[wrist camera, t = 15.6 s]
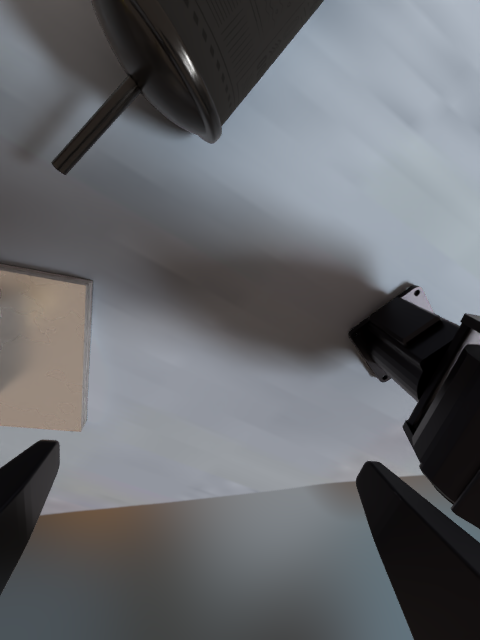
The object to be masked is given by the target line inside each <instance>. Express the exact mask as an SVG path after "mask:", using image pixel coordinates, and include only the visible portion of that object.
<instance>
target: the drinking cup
mask: <svg viewBox="0 0 480 640" xmlns="http://www.w3.org/2000/svg"><path fill="white" fill-rule="evenodd" d="M323 1H324V0H91V2H92V5H93V8H94V11H95V13H96V16H97V18H98V20H99V23H100V25H101V27H102V30H103V32H104V34H105V36H106V38H107V40H108V42H109V44H110V46H111V48H112V50H113V51H114V53H115V55H116V57H117V59H118V61H119V62H120V64H121V66H122V67H123V69H124V70H125V72H126V73H127V75H128V77H127V78H126V79H125V80H124V81H123V82H122V83H121V84H120V86H119V87H118V88H117V89H116V90H115V91H114V92H113V93H112V95H111V96H110V97H109V98H108V99H107V100H106V101H105V103H104V104H103V105H102V106H101V107H100V108H99V109H98V110H97V112H96V113H95V114H94V115H93V116H92V117H91V118H90V119H89V121H88V122H87V123H86V124H85V125H84V126H83V127H82V128H81V130H80V131H79V132H78V133H77V134H76V135H75V136H74V137H73V139H72V140H71V141H70V142H69V143H68V144H67V145H66V146H65V148H64V149H63V150H62V151H61V152H60V153H59V154H58V155H57V157H56V158H55V159H54V160H53V161H52V162H51V163H52V165H53V166H54V167H55V168H56V169H57V170H58V171H60V172H61V173H62V174H64V175H66V174H67V173H68V172H69V171H70V170H71V169H72V168H73V166H74V165H75V164H76V163H77V162H78V161H79V160H80V159H81V158H82V157H83V155H84V154H85V153H86V152H87V151H88V150H89V149H90V148H91V147H92V146H93V144H94V143H95V142H96V141H97V140H98V139H99V138H100V137H101V136H102V134H103V133H104V132H105V131H106V130H107V129H108V128H109V127H110V126H111V125H112V123H113V122H114V121H115V120H116V119H117V118H118V117H119V116H120V115H121V114H122V112H123V111H124V110H125V109H126V108H127V107H128V106H129V105H130V104H131V102H132V101H133V100H134V99H135V98H136V97H137V96H138V95H139V94H140V93H142V95H143V96H144V97H145V98H146V99H147V100H148V101H149V102H150V103H151V104H152V105H153V106H154V107H155V108H156V109H157V110H158V111H159V112H160V113H162V114H163V115H164V116H165V117H166V118H168V119H169V120H170V121H171V122H173V123H174V124H176V125H177V126H179V127H181V128H182V129H184V130H186V131H188V132H191V133H193V134H196V135H198V136H199V137H200V138H202V139H203V140H204V141H206V142H208V143H210V144H213V143H215V142H216V141H217V140H218V139H219V138H220V136H221V134H222V127H221V126H222V125H223V124H224V123H225V121H226V120H227V119H228V118H229V116H230V115H231V114H232V113H233V112H234V110H235V109H236V108H237V107H238V105H239V104H240V103H241V102H242V100H243V99H244V98H245V97H246V96H247V94H248V93H249V92H250V91H251V89H252V88H253V87H254V86H255V84H256V83H257V82H258V81H259V80H260V78H261V77H262V76H263V75H264V73H265V72H266V71H267V70H268V68H269V67H270V66H271V65H272V64H273V62H274V61H275V60H276V59H277V57H278V56H279V55H280V54H281V52H282V51H283V50H284V49H285V48H286V46H287V45H288V44H289V43H290V41H291V40H292V39H293V38H294V36H295V35H296V34H297V33H298V32H299V30H300V29H301V28H302V27H303V25H304V24H305V23H306V22H307V20H308V19H309V18H310V17H311V16H312V14H313V13H314V12H315V11H316V9H317V8H318V7H319V6H320V4H321V3H322V2H323Z"/></svg>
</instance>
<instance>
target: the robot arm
mask: <svg viewBox="0 0 480 640" xmlns="http://www.w3.org/2000/svg"><path fill="white" fill-rule="evenodd" d="M415 291H416V293H415V294H414V292H415ZM460 322H462V324H461V325H460V326H459V325H457V324H454V323H452V322H450V321H448V320H446V319H444V318H442V317H440V316H438V315H436V314H435V313H434V311H433V309H432V307H431V305H430V303H429V301H428V299H427V297H426V294H425V292H424V290H423V289H422V287H419V286H416V285H414V286H412V287H410V288H409V289H407V290H406V291H404V292H403V293H402V294H400V295H399V296H398V297H396V298H395V299H393V300H392V301H391V302H389V303H388V304H386V305H385V306H384V307H382V308H381V309H379V310H378V311H377V312H375V313H374V314H372V315H371V316H370V317H368V318H367V319H366V320H364V321H363V322H361V323H360V324H359V325H357V326H356V327H354V328H353V329H352V330H351V331H350V332H349V338H350V339H351V341H352V342H353V344H354V345H355V346H356V348H357V349H358V351H359V352H360V354H361V355H362V357H363V358H364V359H365V361H366V362H367V364H368V365H369V367H370V368H371V370H372V371H373V373H374V374H375V375H376V377H377V378H378V379H379V380H380V381H381V382H386V381H388V380H389V379H391V378H392V379H393V380H394V381H395V382H396V383H397V384H398V385H400V386H401V387H402V388H403V389H404V390H405V391H406V392H407V393H408V394H409V395H410V396H412V397H413V398H414V399H415V400H416V401H417V402H418V403H417V405H416V407H415V408H414V410H413V412H412V414H411V416H410V417H409V419H408V420H406V421H405V423H404V425H403V429H404V431H405V433H406V435H407V437H408V439H409V441H410V443H411V445H412V447H413V449H414V451H415V453H416V455H417V457H418V459H419V461H420V463H421V464H420V465H419V467H420V469H421V471H422V473H423V474H424V475H425V476H426V477H427V479H428V480H429V481H430V482H431V483H432V485H433V486H434V487H435V488H436V490H437V491H438V492H439V493H441V495H442V496H444V497H445V498H446V499H447V500H448V501H449V502H451V503H452V504H453V506H452V507H451V510H452V511H453V512H454V513H455V514H456V515H458V516H459V517H461V518H463V519H464V520H466V521H468V522H469V523H471V524H473V525H474V526H476V527H478V528H479V529H480V316H477V315H472V314H466V313H465V314H464V316H463V318H462V320H461V321H460ZM356 333H357V335H356V336H354V335H355V334H356ZM383 376H384V377H383ZM59 464H60V445H59V442H58V441H56V440H40V441H38V442H36V443H35V444H33V445H32V446H31V447H29V448H28V449H26V450H25V451H24V452H22V453H21V454H19V455H18V456H17V457H15V458H14V459H12V460H11V461H10V462H8V463H7V464H6V465H4V466H3V467H1V468H0V595H1V593H2V591H3V589H4V588H5V586H6V584H7V582H8V580H9V578H10V576H11V574H12V572H13V570H14V569H15V567H16V565H17V563H18V561H19V559H20V557H21V555H22V553H23V551H24V549H25V547H26V545H27V543H28V541H29V539H30V537H31V534H32V532H33V530H34V527H35V525H36V523H37V520H38V518H39V515H40V513H41V511H42V508H43V506H44V504H45V501H46V499H47V496H48V494H49V492H50V489H51V487H52V484H53V482H54V480H55V477H56V475H57V472H58V469H59ZM356 486H357V489H358V492H359V496H360V499H361V502H362V505H363V508H364V511H365V514H366V517H367V521H368V524H369V527H370V530H371V533H372V536H373V539H374V542H375V544H376V547H377V549H378V552H379V554H380V557H381V559H382V562H383V564H384V566H385V569H386V572H387V574H388V577H389V579H390V581H391V584H392V587H393V589H394V591H395V594H396V596H397V599H398V601H399V604H400V606H401V609H402V611H403V613H404V616H405V619H406V621H407V623H408V626H409V628H410V631H411V633H412V636H413V638H414V640H480V543H479V542H478V541H476V540H475V539H474V538H473V537H472V536H470V535H469V534H468V533H467V532H466V531H464V530H463V529H462V528H461V527H459V526H458V525H457V524H456V523H454V522H453V521H452V520H451V519H449V518H448V517H447V516H446V515H444V514H443V513H442V512H441V511H440V510H438V509H437V508H436V507H434V506H433V505H432V504H431V503H430V502H428V501H427V500H426V499H425V498H423V497H422V496H421V495H420V494H418V493H417V492H416V491H415V490H414V489H412V488H411V487H410V486H409V485H407V484H406V483H405V482H403V481H402V480H401V479H400V478H399V477H398V476H396V475H395V474H394V473H393V472H391V471H390V470H389V469H388V468H386V467H385V466H384V465H383V464H381V463H380V462H376V461H367V462H365V464H364V465H363V467H362V469H361V471H360V473H359V474H358V476H357V478H356Z"/></svg>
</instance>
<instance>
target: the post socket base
mask: <svg viewBox="0 0 480 640" xmlns="http://www.w3.org/2000/svg"><path fill="white" fill-rule="evenodd" d="M92 291H93V281H92V280H86V279H81V278H75V277H70V276H65V275H59V274H54V273H48V272H43V271H37V270H32V269H27V268H21V267H16V266H10V265H5V264H0V426H11V427H24V428H37V429H51V430H64V431H77V432H81V431H82V429H83V427H84V425H85V423H86V421H87V406H88V383H89V360H90V337H91V314H92Z"/></svg>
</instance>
